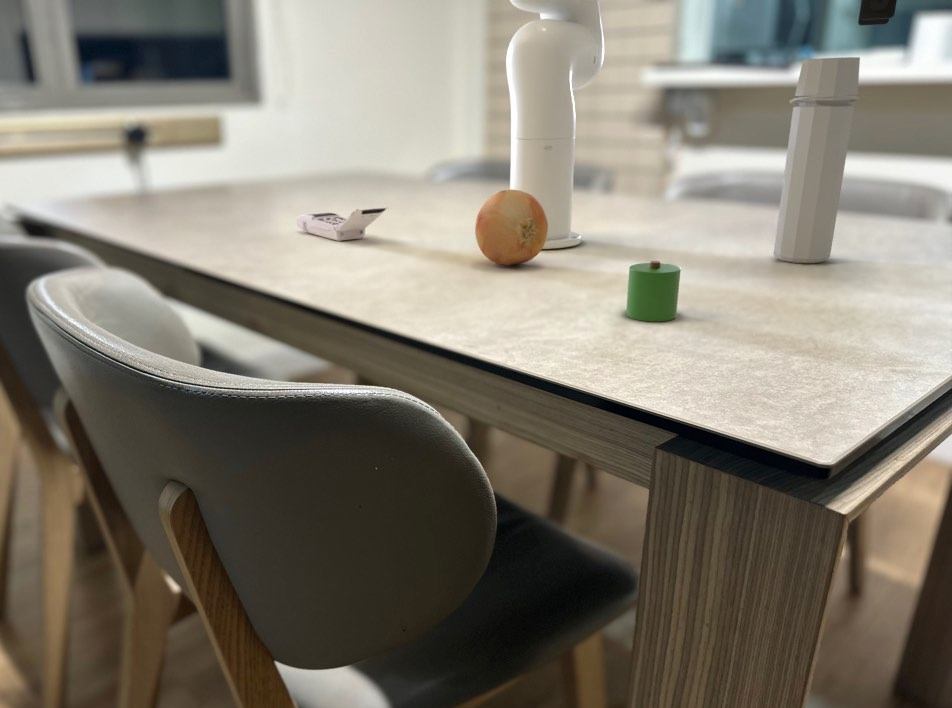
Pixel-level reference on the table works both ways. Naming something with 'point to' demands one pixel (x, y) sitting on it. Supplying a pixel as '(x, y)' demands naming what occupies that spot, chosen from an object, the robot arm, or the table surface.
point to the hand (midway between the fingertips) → (874, 21)
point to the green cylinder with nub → (653, 291)
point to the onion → (511, 227)
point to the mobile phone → (339, 224)
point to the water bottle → (816, 158)
